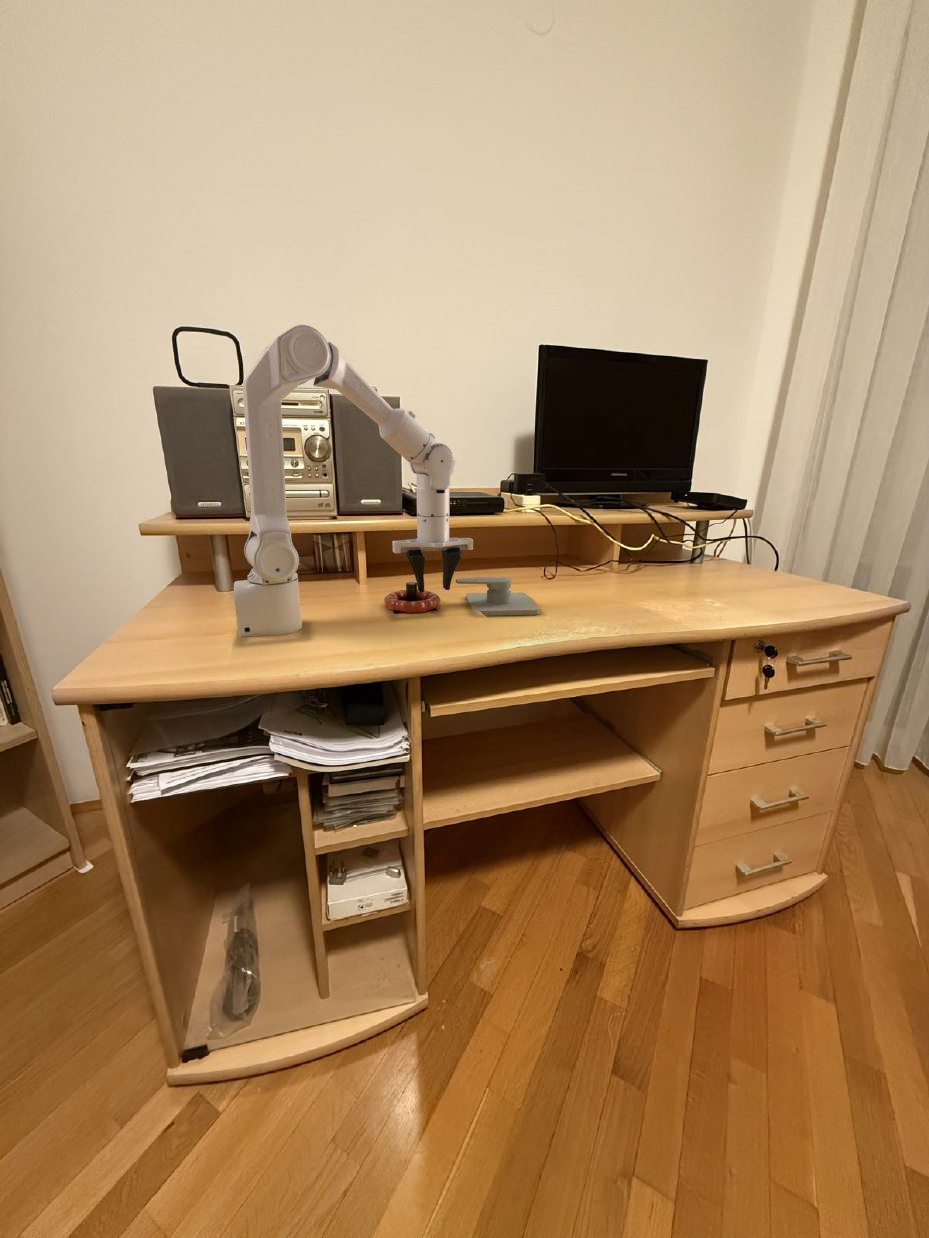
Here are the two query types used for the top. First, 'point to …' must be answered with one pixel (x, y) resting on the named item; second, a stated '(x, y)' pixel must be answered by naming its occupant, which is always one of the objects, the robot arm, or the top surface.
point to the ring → (399, 604)
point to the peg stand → (411, 595)
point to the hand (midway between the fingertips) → (433, 589)
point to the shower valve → (499, 598)
